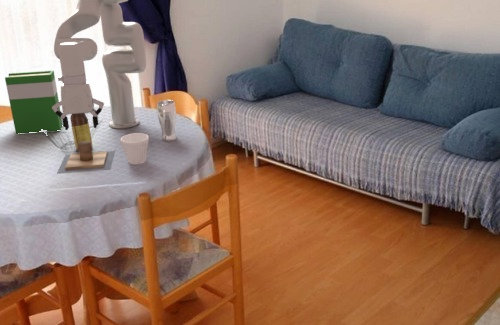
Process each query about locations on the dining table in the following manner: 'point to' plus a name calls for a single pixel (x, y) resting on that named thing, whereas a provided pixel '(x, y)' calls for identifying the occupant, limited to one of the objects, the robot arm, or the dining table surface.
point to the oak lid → (86, 158)
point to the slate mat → (106, 167)
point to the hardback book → (33, 101)
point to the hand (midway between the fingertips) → (81, 127)
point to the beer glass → (167, 119)
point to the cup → (135, 147)
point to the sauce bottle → (80, 128)
